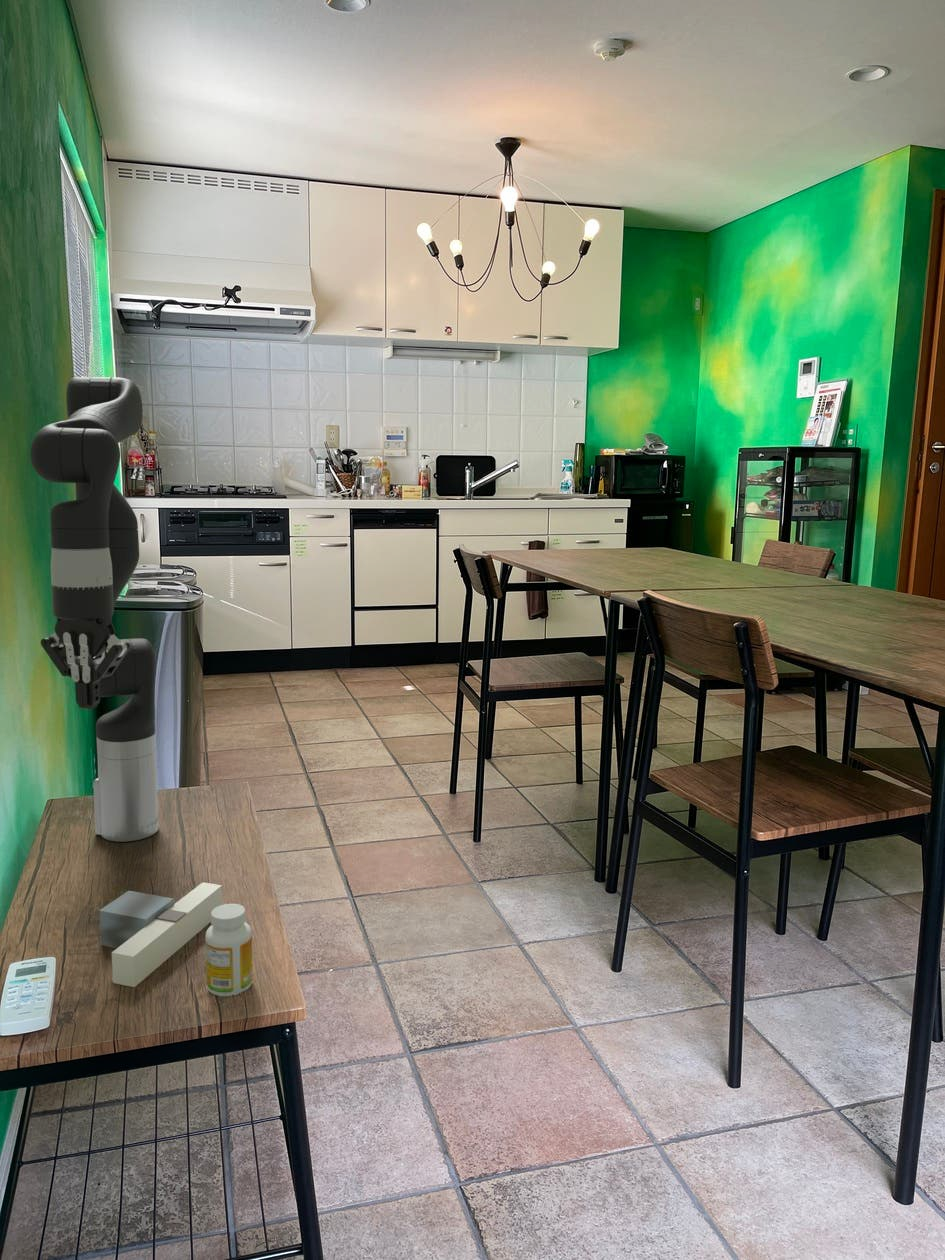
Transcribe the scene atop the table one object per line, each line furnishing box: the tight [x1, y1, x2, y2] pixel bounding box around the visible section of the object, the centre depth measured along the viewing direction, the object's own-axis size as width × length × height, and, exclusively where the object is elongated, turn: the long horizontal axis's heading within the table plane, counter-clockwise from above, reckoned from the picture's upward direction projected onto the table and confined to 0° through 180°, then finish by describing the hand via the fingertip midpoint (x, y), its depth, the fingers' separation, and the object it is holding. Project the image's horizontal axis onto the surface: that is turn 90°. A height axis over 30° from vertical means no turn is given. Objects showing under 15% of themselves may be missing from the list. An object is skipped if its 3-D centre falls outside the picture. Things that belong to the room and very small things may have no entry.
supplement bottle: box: [205, 903, 253, 997], centre depth 110 cm, size 5×5×10 cm
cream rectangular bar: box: [111, 882, 223, 988], centre depth 120 cm, size 3×20×4 cm, turn 164°
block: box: [99, 890, 175, 949], centre depth 121 cm, size 7×6×5 cm
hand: (88, 707), depth 125 cm, fingers closed
